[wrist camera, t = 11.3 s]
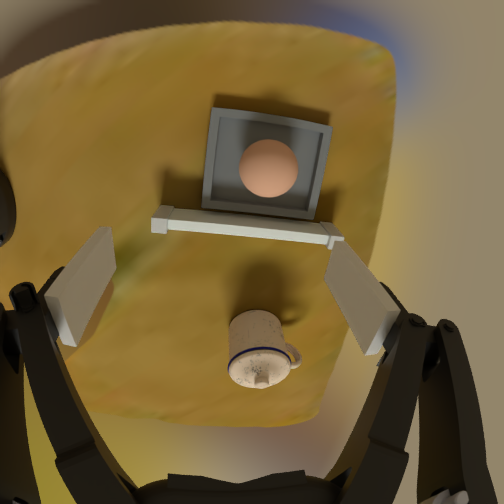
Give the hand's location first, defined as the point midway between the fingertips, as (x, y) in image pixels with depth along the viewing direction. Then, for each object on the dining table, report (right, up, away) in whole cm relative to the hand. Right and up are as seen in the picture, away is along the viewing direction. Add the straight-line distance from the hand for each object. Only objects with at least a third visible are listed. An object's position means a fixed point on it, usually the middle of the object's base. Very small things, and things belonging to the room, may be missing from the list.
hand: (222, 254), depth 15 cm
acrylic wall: (+1, +4, +20) cm, 20 cm away
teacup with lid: (+3, -13, +29) cm, 32 cm away
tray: (+3, +11, +16) cm, 20 cm away
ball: (+3, +9, +13) cm, 16 cm away
